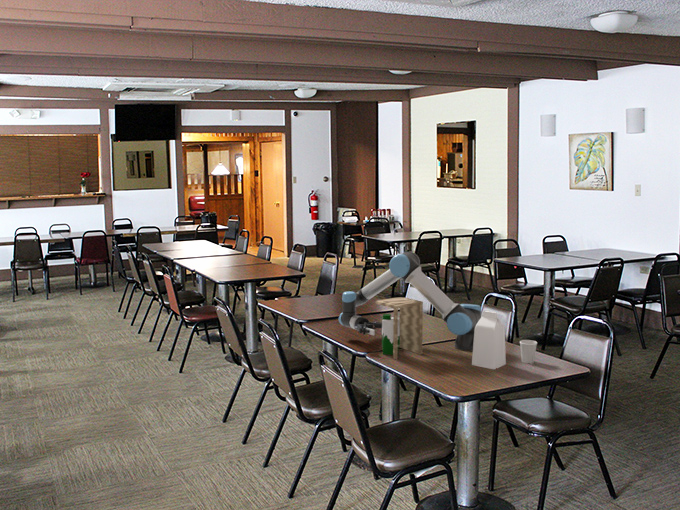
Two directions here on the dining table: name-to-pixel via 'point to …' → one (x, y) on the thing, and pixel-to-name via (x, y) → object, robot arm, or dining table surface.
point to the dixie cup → (528, 350)
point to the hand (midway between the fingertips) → (384, 331)
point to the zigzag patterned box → (406, 323)
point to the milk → (489, 342)
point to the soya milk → (388, 334)
